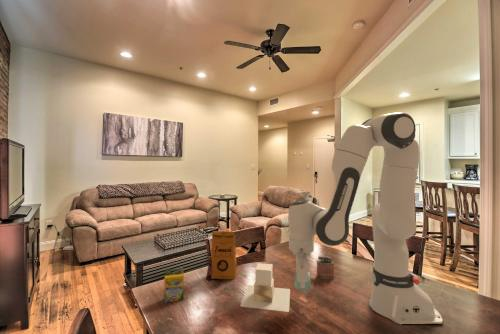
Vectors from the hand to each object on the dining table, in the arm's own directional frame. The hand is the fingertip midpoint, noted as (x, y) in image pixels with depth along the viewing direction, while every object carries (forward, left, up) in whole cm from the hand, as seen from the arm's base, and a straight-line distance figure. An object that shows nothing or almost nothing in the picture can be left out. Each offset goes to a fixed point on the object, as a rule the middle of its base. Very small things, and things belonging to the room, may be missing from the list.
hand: (302, 282), depth 88 cm
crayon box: (+50, +2, -11) cm, 51 cm away
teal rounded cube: (0, 0, -2) cm, 2 cm away
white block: (+15, -5, -4) cm, 16 cm away
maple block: (+15, -5, -10) cm, 18 cm away
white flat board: (+14, -5, -11) cm, 18 cm away
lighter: (-11, -29, -11) cm, 33 cm away
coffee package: (+36, -20, -11) cm, 42 cm away
